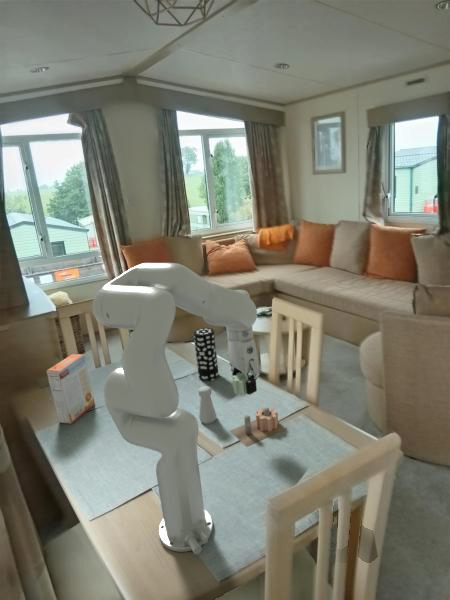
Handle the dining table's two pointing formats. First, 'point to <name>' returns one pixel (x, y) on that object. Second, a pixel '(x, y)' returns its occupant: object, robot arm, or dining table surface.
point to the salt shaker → (206, 406)
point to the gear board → (254, 431)
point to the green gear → (240, 383)
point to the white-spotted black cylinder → (206, 354)
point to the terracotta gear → (267, 420)
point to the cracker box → (71, 388)
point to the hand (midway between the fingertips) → (244, 387)
